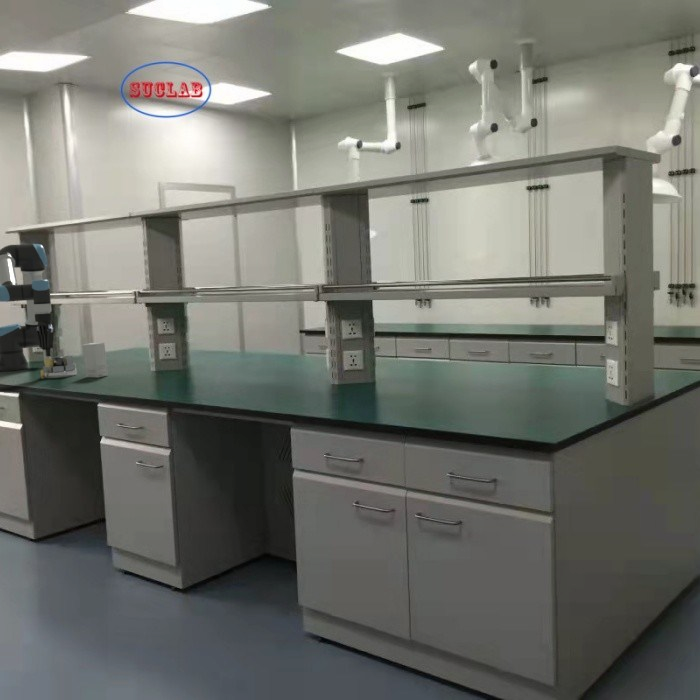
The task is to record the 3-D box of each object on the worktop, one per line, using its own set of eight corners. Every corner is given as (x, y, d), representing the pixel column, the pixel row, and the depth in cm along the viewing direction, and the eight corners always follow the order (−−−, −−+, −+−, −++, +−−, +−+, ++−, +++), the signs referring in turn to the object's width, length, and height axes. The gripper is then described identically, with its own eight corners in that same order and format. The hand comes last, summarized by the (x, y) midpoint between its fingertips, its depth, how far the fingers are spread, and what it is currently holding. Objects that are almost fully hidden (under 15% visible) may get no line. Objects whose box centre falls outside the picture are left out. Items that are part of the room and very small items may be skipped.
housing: (43, 375, 366) (41, 357, 365) (76, 372, 371) (74, 354, 370) (44, 379, 352) (42, 360, 351) (78, 376, 358) (76, 357, 357)
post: (41, 378, 355) (40, 370, 354) (44, 378, 356) (44, 369, 355) (41, 379, 353) (40, 370, 353) (45, 378, 354) (44, 370, 354)
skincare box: (108, 375, 353) (105, 342, 351) (96, 378, 347) (93, 344, 346) (96, 375, 358) (93, 342, 356) (84, 377, 352) (81, 343, 350)
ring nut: (58, 372, 352) (56, 359, 351) (37, 371, 359) (36, 359, 358) (81, 368, 364) (80, 355, 363) (61, 367, 371) (60, 355, 370)
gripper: (58, 312, 353) (62, 362, 356) (42, 312, 361) (47, 361, 363) (43, 313, 347) (48, 364, 350) (28, 313, 355) (32, 363, 358)
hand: (47, 363), depth 357 cm, fingers closed
